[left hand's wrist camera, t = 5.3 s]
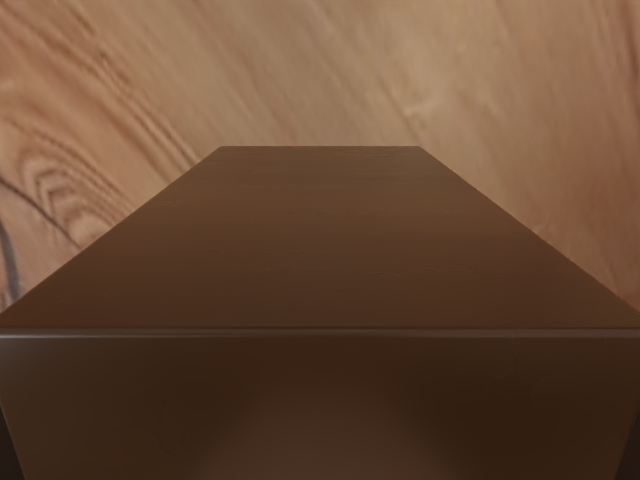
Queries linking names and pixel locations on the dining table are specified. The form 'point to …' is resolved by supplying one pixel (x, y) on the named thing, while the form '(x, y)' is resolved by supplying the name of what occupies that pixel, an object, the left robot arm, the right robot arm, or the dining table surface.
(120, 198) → the dining table surface
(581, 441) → the box
